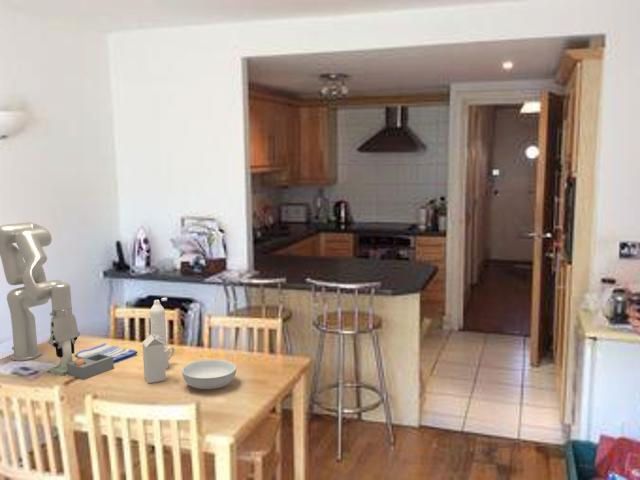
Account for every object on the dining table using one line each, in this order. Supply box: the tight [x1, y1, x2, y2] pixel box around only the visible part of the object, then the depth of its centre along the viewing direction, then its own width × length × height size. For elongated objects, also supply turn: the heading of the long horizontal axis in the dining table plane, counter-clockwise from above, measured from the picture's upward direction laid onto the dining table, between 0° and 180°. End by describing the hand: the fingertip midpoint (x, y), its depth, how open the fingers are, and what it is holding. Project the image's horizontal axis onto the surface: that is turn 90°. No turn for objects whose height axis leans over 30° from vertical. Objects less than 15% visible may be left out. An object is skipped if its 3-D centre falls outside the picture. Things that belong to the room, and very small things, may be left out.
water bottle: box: [149, 297, 168, 347], centre depth 271 cm, size 9×6×25 cm
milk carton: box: [142, 331, 167, 384], centre depth 240 cm, size 7×7×19 cm
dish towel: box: [74, 342, 138, 364], centre depth 270 cm, size 17×24×3 cm
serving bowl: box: [181, 359, 237, 390], centre depth 234 cm, size 21×21×7 cm
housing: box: [67, 353, 115, 380], centre depth 250 cm, size 10×15×5 cm, turn 148°
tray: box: [49, 364, 69, 377], centre depth 252 cm, size 9×9×2 cm
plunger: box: [75, 358, 84, 366], centre depth 246 cm, size 3×3×4 cm
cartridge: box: [59, 339, 73, 367], centre depth 251 cm, size 5×5×13 cm
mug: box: [164, 345, 175, 371], centre depth 254 cm, size 13×10×8 cm
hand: (65, 354), depth 251 cm, fingers closed on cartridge, 4 cm apart
